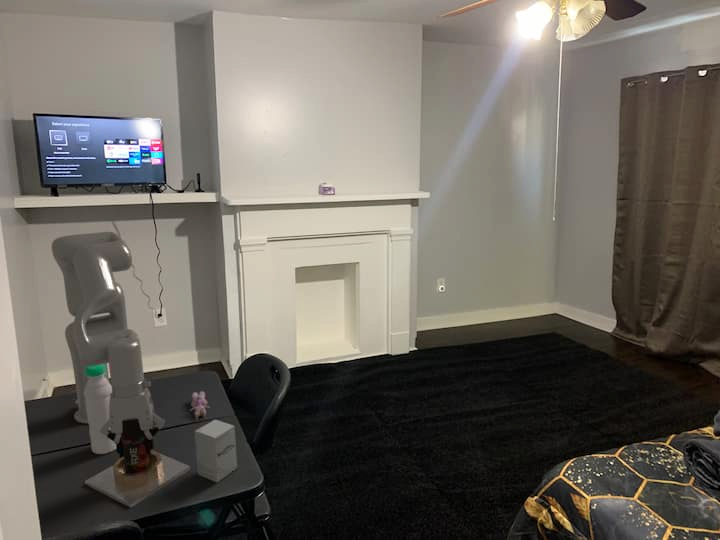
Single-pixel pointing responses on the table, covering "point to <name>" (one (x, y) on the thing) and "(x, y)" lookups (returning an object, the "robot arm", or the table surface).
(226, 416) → the table surface
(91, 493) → the table surface
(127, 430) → the deodorant
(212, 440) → the supplement box
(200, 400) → the pink plush toy
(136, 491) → the base
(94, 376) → the water bottle
